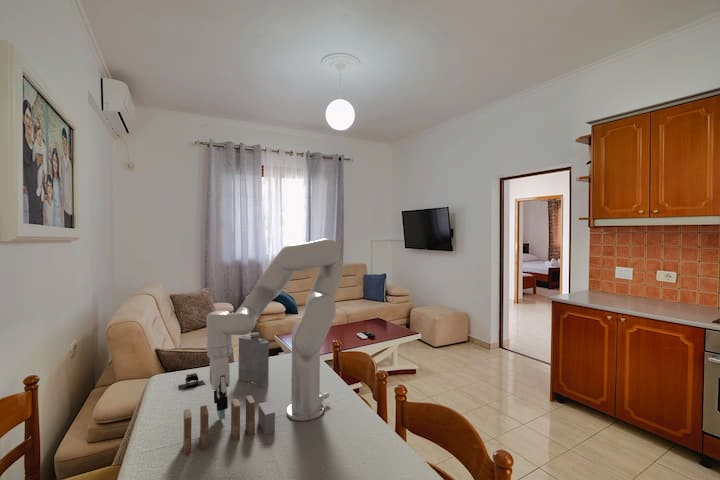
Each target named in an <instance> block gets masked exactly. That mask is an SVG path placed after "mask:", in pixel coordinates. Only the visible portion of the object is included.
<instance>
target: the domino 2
mask: <svg viewBox="0 0 720 480" xmlns="http://www.w3.org/2000/svg"><path fill="white" fill-rule="evenodd" d="M199 407H200V408H199V409H200V411H199V412H200V413H199V415H200V416H199V417H200V419H199V428H200V429H199V443H200V447H201V450H202V451H203V450H207V449H209V409H208V405H206V404H205V405H201V406H199Z"/></svg>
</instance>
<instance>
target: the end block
mask: <svg viewBox="0 0 720 480" xmlns="http://www.w3.org/2000/svg"><path fill="white" fill-rule="evenodd" d="M257 411H258V413H257V414H258V417H257V423H258V425H259V426H260V428H261V430H262V431H263V433H264V434H263V435H268V434H272V433H275V432H276V411H275V410H274V409H273V406H271V404H270V403H269V401H265V402H259V403H258V409H257Z"/></svg>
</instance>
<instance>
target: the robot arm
mask: <svg viewBox="0 0 720 480" xmlns="http://www.w3.org/2000/svg"><path fill="white" fill-rule="evenodd" d="M315 268H318V271H317V274H316V277H315V279H314V282H313V284H312V287H311V289H310V291H309V294H308V296H307V298H306V299H305V302H304V303H305V304H304V307H305V310H304V313H303V315H302V318H301V319H299V320H298V321H296V323H295V324H294V325H293V327H292V330H291V397H290V398H291V403H290V404H289V405H288V406H287V407H286V415H287V417H288V418H290V419H291V420H294V421H298V422H300V421H301V422H306V421H307V422H308V421H311V420H315V419H317V418H319V417H321V416H322V415H323V414H324V411H325V406H324V404H323V403H322V402H323V401H324V400H326V399H328V398H329V397H330V394H329V392H327V391H326V392H324V393H321V392H320V391H321V390H320V388H321V387H320V384H321V383H320V380H321V379H320V378H321V376H320V371H321V350H322V347H323V345H324V343H325V341H326V339H327V337H328V334H329V332H330V329H331V326H332V324H333V322H334V319H335V316H336V313H337V305H336V302H335V298H336V295H337V293H338V290H339V287H340V284H341V282H342V277H343V274H344V264H343V259H342V256H341V247H340V245H339V244H338V243H337V242H336V241H335V240H333V239H331V238H325V237H324V238H320V239H318V240H315V241H309V242H304V243H299V244H298V243H297V244H287V245H285V246H283V247H282V248H281V250H279V252H278V253H277V255H276V256H275V258H274V259H273V260H272V261H271V262H270V264H269V265H268V267H267V268H266V270H265V271H264V272H263V273H262V275H261V276H260V277H259V278H258V280H257V281H256V284H255V285H254V287H253V288H252V290H251V291H250V293H249V294H248V295H247V297H246V298H245V299H244V301H243V302H242V303H241V305H240V306H239V307H238V308H237V310H236V311H235V312H234V313H231V312H230V311H228V310H215V311H211V312H209V313H208V314H207V316H206V322H205V323H206V354H207V355H206V356H207V358H209V384H210V387H211V389H212V390H213V403H214V404H216V412H217V411H220V410H224V409H225V410H227V409H228V407H229V406H228V404H229V403H228V402H229V400H228V388H229V387H230V381H231V380H230V355H232V354H233V335H235V336H247V335H248V334H251V333H252V332H253V331H254V328H255V326H256V323H257V321H258V320H259V318H260V316H261V315H262V313H263V312H264V311H265V309H266V308H267V307H268V305H270V303H271V302H272V301H273V300H274V299H275V298H277V297H278V296H279V295H280V294H281V293H282V292H283V290H284V289H285V288H286V286H288V283H290V281H291V280H292V278H293V277H294V275H295V274H296V273H297V272H300V271H306V270H310V269H311V270H312V269H315ZM219 386H221V387H220V388H219ZM219 390H221V392H219ZM217 397H218V398H217Z"/></svg>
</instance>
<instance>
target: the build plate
mask: <svg viewBox="0 0 720 480" xmlns="http://www.w3.org/2000/svg"><path fill="white" fill-rule="evenodd" d="M184 380H185V383H183V384H178V385H177V387H178V391H185V390H189V389H192V388H198V387H202V386H205V385H206V383H205V381H204V380H200V378H199V375H198V374H197V372H195V373H189V374H186V377H185V379H184Z"/></svg>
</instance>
